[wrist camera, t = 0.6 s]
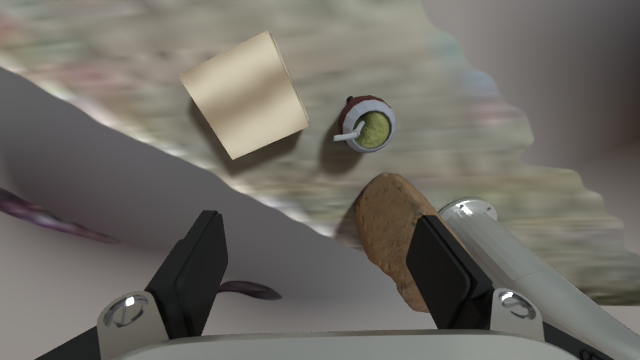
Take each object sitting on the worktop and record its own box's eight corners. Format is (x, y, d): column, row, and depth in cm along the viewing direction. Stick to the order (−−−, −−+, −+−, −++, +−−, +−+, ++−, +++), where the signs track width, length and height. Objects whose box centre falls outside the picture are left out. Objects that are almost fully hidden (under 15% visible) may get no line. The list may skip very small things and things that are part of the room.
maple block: (308, 115, 35) (309, 126, 30) (242, 144, 36) (232, 159, 31) (272, 35, 30) (266, 30, 25) (198, 72, 32) (177, 75, 26)
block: (390, 161, 39) (464, 247, 21) (416, 187, 42) (502, 282, 24) (343, 203, 42) (374, 309, 25) (371, 225, 45) (417, 334, 27)
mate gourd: (387, 124, 36) (438, 163, 23) (341, 149, 38) (364, 199, 24) (369, 78, 33) (414, 92, 20) (319, 106, 34) (331, 137, 21)
